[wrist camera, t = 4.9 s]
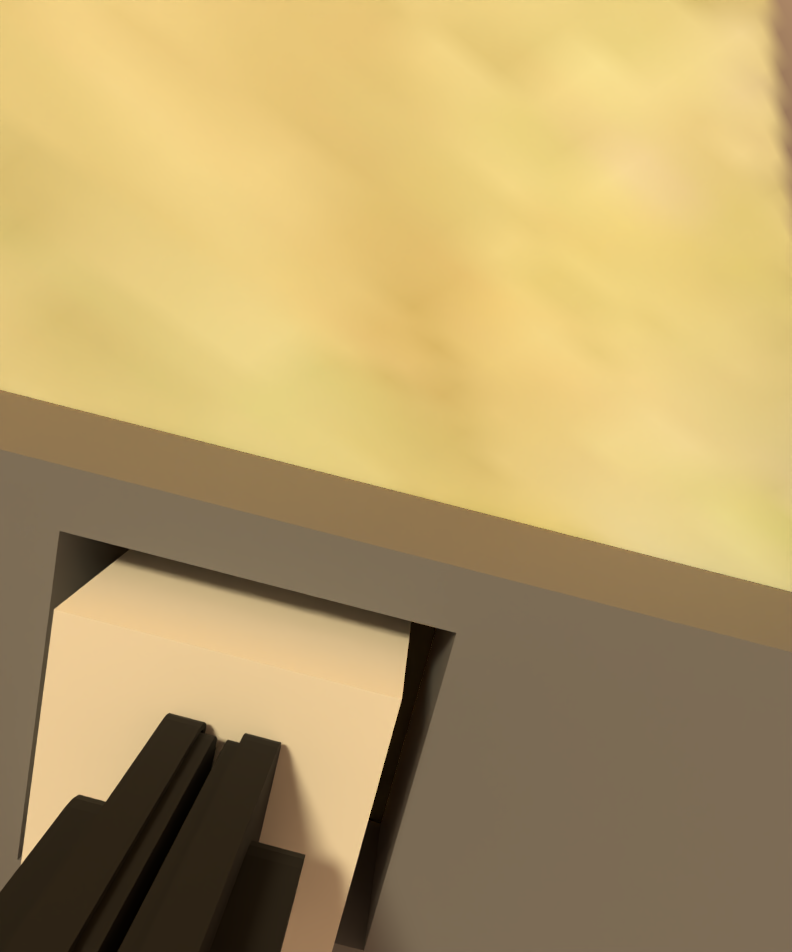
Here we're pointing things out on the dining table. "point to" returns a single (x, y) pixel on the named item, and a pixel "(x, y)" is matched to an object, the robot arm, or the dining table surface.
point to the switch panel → (457, 692)
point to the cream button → (227, 705)
